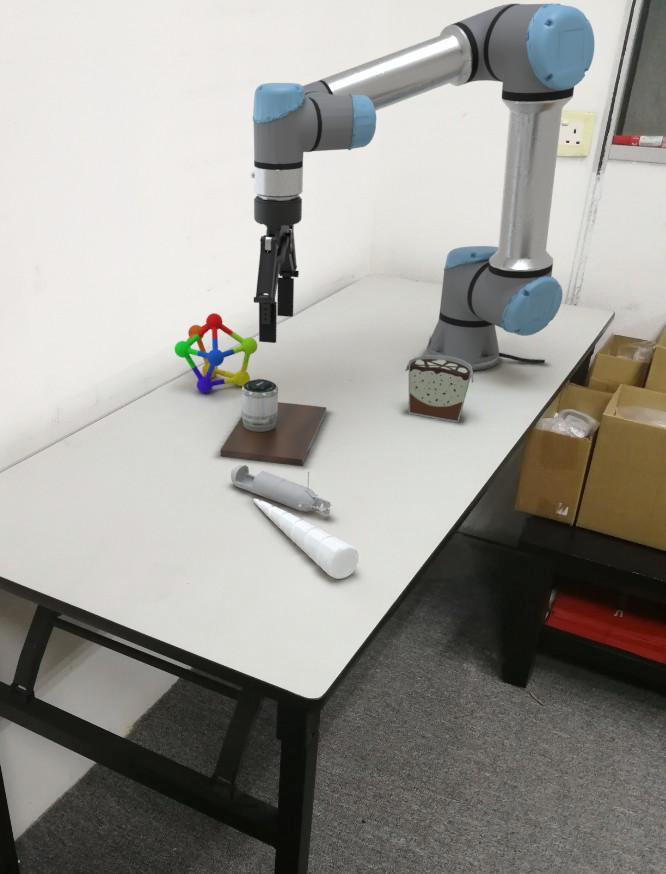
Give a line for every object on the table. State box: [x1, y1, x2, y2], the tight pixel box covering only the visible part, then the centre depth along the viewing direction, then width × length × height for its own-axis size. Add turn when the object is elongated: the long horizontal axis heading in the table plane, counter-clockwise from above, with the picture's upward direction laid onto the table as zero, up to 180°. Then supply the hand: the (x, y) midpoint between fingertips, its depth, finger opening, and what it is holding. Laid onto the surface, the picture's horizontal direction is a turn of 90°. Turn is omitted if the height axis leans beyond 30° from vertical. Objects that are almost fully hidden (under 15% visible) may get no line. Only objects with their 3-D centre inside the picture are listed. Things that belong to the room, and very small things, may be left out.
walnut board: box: [220, 401, 327, 467], centre depth 151 cm, size 14×22×1 cm, turn 166°
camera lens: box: [241, 378, 279, 432], centre depth 149 cm, size 6×6×8 cm
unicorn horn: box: [253, 498, 359, 580], centre depth 121 cm, size 5×24×5 cm, turn 27°
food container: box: [405, 354, 474, 423], centre depth 157 cm, size 12×6×10 cm, turn 65°
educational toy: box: [174, 312, 258, 394], centre depth 164 cm, size 16×13×15 cm
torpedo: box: [230, 464, 332, 516], centre depth 129 cm, size 18×5×7 cm, turn 53°
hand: (276, 328), depth 145 cm, fingers open, 13 cm apart
